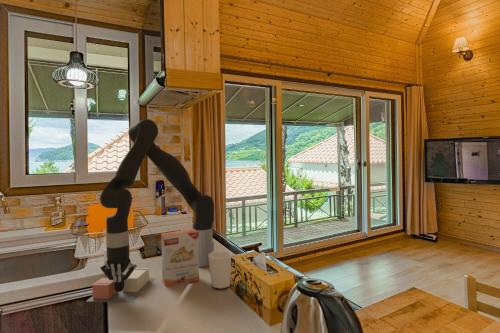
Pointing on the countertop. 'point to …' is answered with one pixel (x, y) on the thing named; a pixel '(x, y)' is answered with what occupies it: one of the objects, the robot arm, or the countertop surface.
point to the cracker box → (180, 257)
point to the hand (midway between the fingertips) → (119, 290)
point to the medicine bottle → (105, 255)
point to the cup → (220, 268)
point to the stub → (103, 289)
